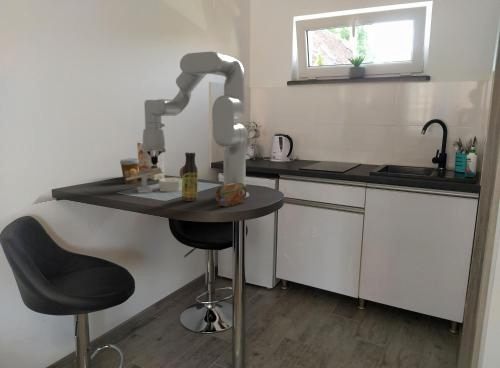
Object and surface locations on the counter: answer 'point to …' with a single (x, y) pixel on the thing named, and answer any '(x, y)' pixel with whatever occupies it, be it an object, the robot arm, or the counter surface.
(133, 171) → the orange ball
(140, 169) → the coffeecake box
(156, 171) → the birch lever
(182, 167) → the onion
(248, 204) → the counter surface
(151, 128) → the robot arm
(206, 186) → the counter surface
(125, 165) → the brown food tub
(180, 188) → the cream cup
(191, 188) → the sauce bottle
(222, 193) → the sandwich
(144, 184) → the lever stand
